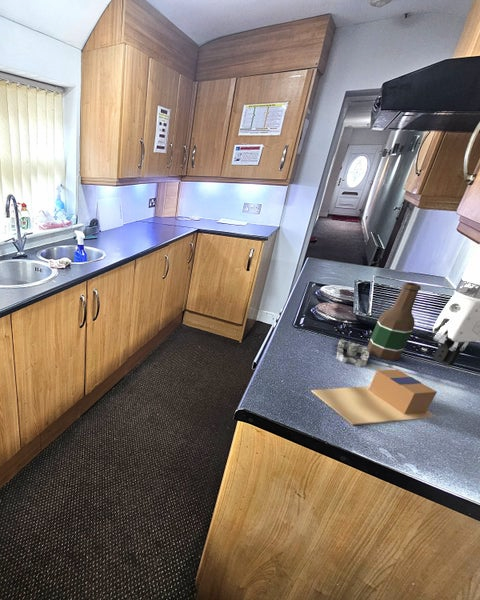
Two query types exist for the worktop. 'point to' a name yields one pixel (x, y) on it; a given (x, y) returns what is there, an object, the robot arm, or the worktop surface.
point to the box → (402, 391)
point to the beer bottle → (394, 326)
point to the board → (363, 406)
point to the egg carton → (352, 353)
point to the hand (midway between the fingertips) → (442, 362)
